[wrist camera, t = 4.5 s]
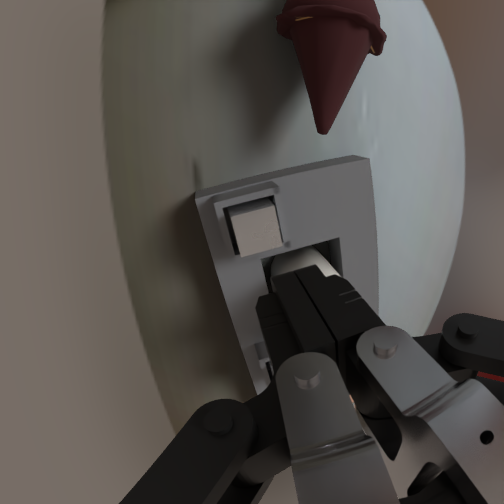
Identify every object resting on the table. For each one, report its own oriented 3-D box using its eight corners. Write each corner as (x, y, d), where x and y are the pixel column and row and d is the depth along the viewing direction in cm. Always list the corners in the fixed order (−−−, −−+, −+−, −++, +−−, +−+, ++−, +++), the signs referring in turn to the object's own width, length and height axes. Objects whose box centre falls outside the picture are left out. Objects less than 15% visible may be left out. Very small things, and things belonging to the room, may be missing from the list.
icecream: (406, 149, 15) (403, -37, 11) (303, 117, 12) (318, -89, 8) (333, 144, 21) (344, -13, 17) (242, 126, 18) (266, -45, 14)
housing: (195, 191, 21) (193, 206, 17) (353, 154, 21) (384, 162, 17) (265, 412, 31) (273, 444, 27) (364, 379, 32) (381, 406, 27)
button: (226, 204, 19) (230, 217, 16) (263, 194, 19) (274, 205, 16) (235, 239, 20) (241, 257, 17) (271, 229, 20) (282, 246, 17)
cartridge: (263, 250, 23) (302, 330, 14) (320, 235, 24) (386, 301, 14) (275, 300, 25) (311, 388, 16) (326, 284, 25) (382, 362, 16)
